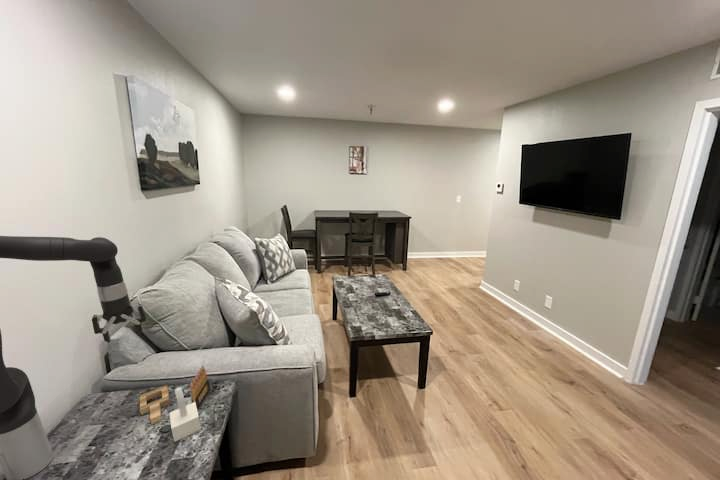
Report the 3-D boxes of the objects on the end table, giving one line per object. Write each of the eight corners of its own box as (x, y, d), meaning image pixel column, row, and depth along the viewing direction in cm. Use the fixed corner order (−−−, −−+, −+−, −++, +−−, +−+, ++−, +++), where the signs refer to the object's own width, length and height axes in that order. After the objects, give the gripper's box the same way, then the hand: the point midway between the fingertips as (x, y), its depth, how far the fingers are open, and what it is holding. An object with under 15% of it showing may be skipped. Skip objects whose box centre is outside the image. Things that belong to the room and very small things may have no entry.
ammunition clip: (198, 410, 112) (192, 383, 109) (193, 410, 112) (187, 383, 109) (210, 388, 122) (205, 363, 119) (206, 388, 122) (201, 363, 119)
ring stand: (174, 441, 99) (164, 402, 95) (172, 425, 106) (163, 387, 101) (201, 429, 104) (193, 391, 100) (197, 413, 110) (190, 377, 106)
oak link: (171, 416, 109) (170, 410, 109) (141, 429, 104) (139, 423, 104) (168, 390, 122) (166, 385, 121) (141, 400, 117) (139, 395, 116)
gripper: (84, 305, 95) (97, 349, 99) (139, 293, 103) (149, 335, 107) (87, 297, 101) (99, 339, 105) (139, 286, 109) (148, 326, 113)
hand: (124, 337), depth 106 cm, fingers open, 8 cm apart
